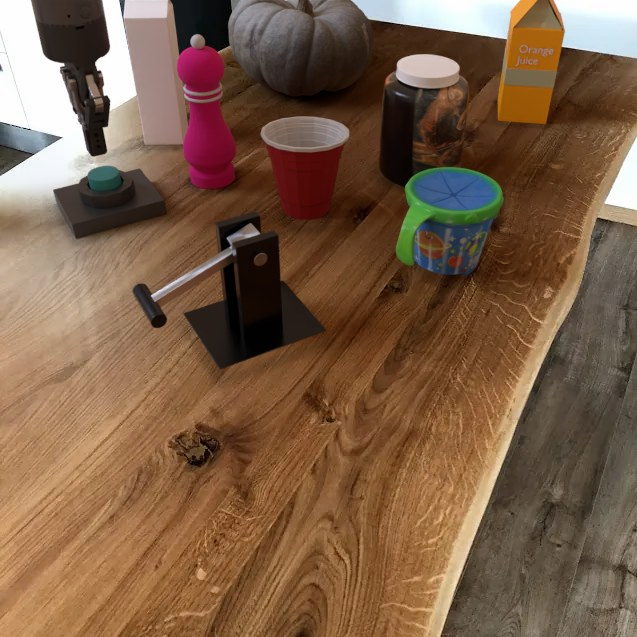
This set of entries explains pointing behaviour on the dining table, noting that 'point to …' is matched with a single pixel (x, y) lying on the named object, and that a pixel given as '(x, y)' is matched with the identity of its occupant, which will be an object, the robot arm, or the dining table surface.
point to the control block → (109, 204)
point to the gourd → (301, 43)
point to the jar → (422, 117)
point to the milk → (156, 70)
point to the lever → (186, 280)
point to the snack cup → (448, 219)
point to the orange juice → (530, 61)
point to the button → (104, 178)
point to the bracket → (251, 300)
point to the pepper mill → (206, 117)
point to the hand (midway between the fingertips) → (97, 153)
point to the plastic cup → (305, 162)
